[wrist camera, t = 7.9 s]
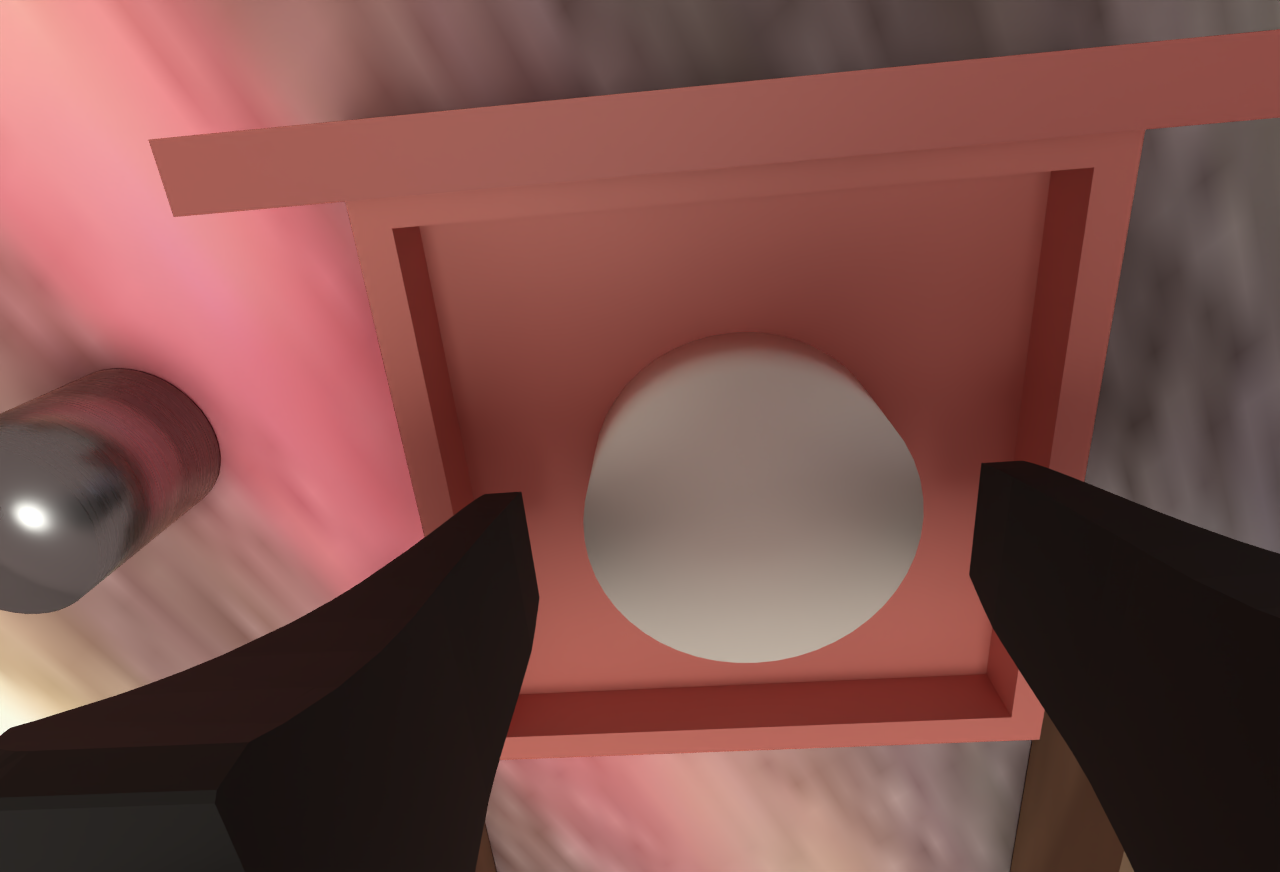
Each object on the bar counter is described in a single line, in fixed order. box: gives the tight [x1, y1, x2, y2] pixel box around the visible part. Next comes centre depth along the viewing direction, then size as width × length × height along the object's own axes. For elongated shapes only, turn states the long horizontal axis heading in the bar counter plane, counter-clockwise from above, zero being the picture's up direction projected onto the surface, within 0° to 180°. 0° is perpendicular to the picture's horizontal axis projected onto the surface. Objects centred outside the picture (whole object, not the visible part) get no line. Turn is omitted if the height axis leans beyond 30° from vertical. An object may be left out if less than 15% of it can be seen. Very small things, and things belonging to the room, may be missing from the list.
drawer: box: [149, 29, 1280, 760], centre depth 12 cm, size 13×12×5 cm
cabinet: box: [475, 711, 1134, 872], centre depth 16 cm, size 15×12×4 cm
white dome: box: [583, 332, 924, 663], centre depth 13 cm, size 5×5×2 cm
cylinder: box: [0, 369, 220, 614], centre depth 13 cm, size 3×3×4 cm
